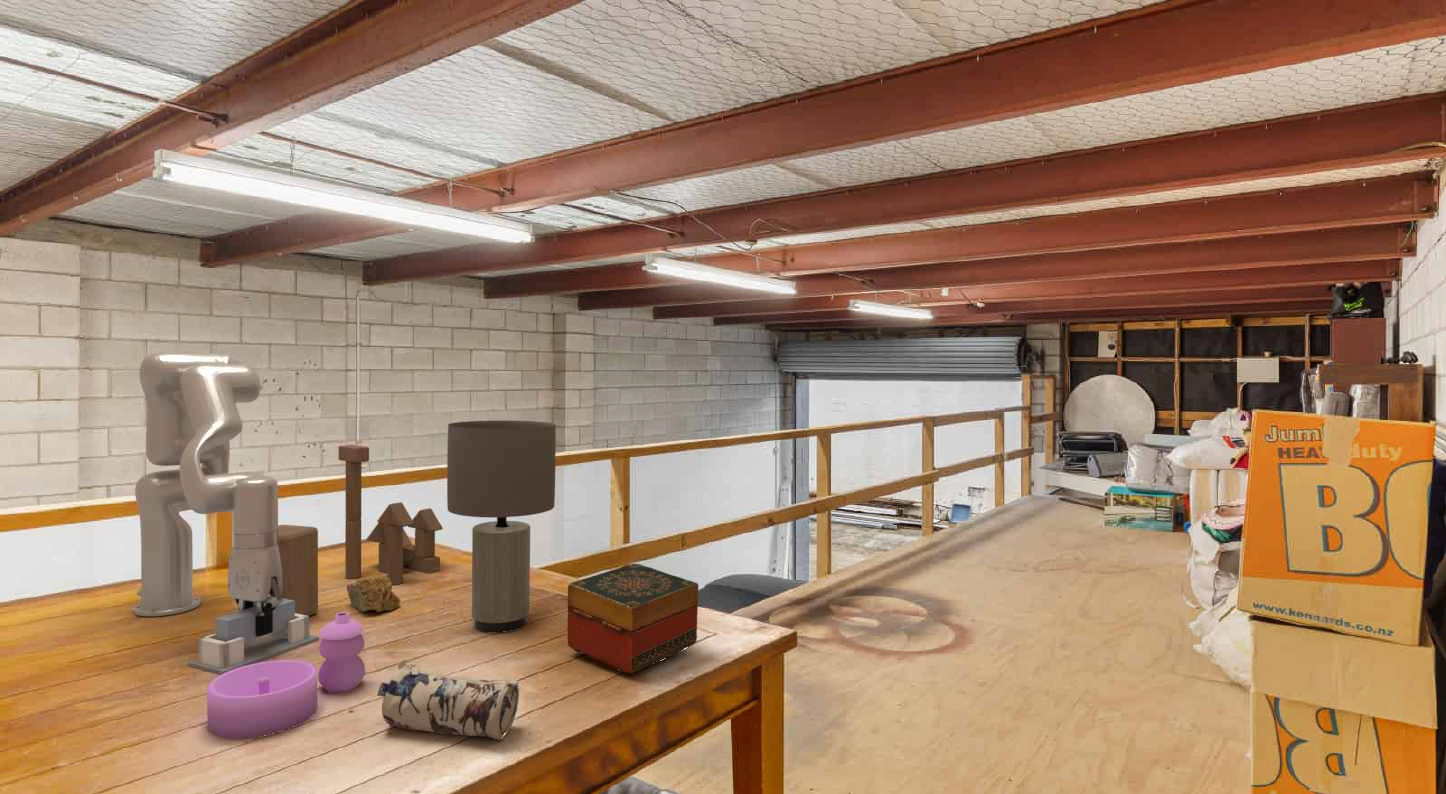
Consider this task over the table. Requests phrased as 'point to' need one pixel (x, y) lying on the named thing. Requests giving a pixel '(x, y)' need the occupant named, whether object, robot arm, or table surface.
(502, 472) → the lamp
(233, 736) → the container set
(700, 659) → the table surface
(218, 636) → the blue-grey rectangular bar
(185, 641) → the table surface
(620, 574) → the decorative box
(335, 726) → the table surface
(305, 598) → the wooden block
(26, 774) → the table surface
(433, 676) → the pencil case
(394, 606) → the rock
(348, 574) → the building blocks
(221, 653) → the endcap board
